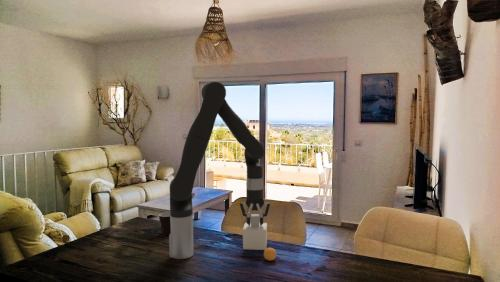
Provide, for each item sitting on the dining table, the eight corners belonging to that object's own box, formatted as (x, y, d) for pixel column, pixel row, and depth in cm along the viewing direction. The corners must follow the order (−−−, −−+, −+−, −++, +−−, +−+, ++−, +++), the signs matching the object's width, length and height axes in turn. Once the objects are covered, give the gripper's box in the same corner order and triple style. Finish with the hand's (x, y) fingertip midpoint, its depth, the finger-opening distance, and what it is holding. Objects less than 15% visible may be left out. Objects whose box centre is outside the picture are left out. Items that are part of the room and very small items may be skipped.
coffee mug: (172, 237, 165) (171, 217, 164) (156, 236, 167) (155, 216, 166) (181, 229, 176) (181, 210, 176) (166, 228, 178) (166, 210, 177)
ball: (263, 262, 134) (263, 250, 133) (264, 257, 139) (263, 245, 138) (276, 262, 133) (275, 250, 133) (276, 257, 138) (276, 245, 138)
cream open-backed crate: (243, 249, 148) (242, 218, 147) (245, 241, 158) (245, 212, 157) (266, 249, 147) (265, 218, 146) (267, 241, 157) (266, 212, 156)
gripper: (237, 189, 148) (238, 227, 149) (270, 189, 147) (270, 228, 148) (239, 186, 155) (240, 222, 156) (270, 186, 154) (271, 222, 155)
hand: (255, 224), depth 152 cm, fingers open, 4 cm apart
